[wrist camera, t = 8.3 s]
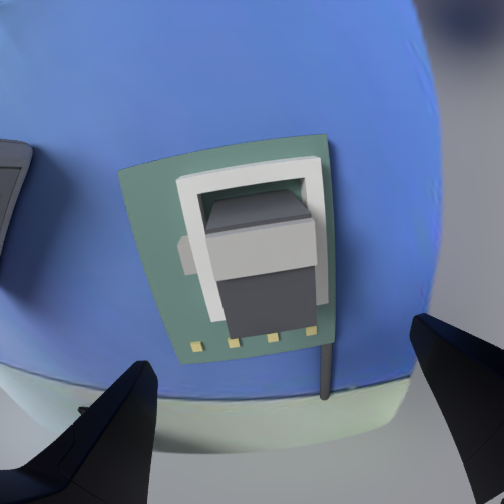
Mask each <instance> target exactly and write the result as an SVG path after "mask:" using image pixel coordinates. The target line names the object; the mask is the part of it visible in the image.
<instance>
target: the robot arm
mask: <svg viewBox="0 0 504 504" xmlns="http://www.w3.org/2000/svg"><path fill="white" fill-rule="evenodd" d="M410 341H411V343H412V346H413V348H414V351H415V353H416V356H417V358H418V361H419V363H420V366H421V369H422V371H423V373H424V376H425V378H426V380H427V382H428V384H429V386H430V388H431V390H432V392H433V394H434V396H435V398H436V401H437V403H438V405H439V407H440V409H441V411H442V414H443V416H444V418H445V420H446V422H447V425H448V427H449V429H450V432H451V434H452V436H453V439H454V441H455V444H456V446H457V449H458V451H459V454H460V456H461V459H462V462H463V464H464V468H465V470H466V473H467V476H468V479H469V482H470V485H471V488H472V491H473V494H474V498H475V501H476V504H484V503H486V502H488V501H489V500H491V499H493V498H494V497H496V496H497V495H499V494H501V493H502V492H504V350H503V349H501V348H499V347H497V346H495V345H493V344H491V343H489V342H486V341H484V340H482V339H480V338H478V337H476V336H473V335H471V334H469V333H467V332H465V331H462V330H461V329H459V328H456V327H454V326H452V325H450V324H448V323H445V322H443V321H441V320H439V319H437V318H435V317H432V316H430V315H428V314H426V313H422V314H418V315H415V316H414V318H413V321H412V325H411V330H410ZM157 389H158V380H157V376H156V374H155V373H154V371H153V369H152V367H151V365H150V363H149V362H148V361H146V360H144V361H136V362H134V363H133V364H132V365H131V366H130V367H129V368H128V369H127V370H126V371H125V372H124V373H123V374H122V375H121V376H120V377H119V378H118V379H117V380H116V381H115V382H114V383H113V384H112V385H111V386H110V387H109V388H108V389H107V390H106V391H105V392H104V393H103V394H102V395H101V396H100V397H99V398H98V399H97V400H96V401H95V402H94V403H93V404H92V405H91V406H90V407H89V408H83V407H79V408H78V411H79V413H80V414H81V416H80V417H79V418H78V419H77V420H76V421H75V422H74V423H73V425H71V426H70V427H69V428H68V429H67V430H66V431H65V432H64V433H62V434H61V435H60V436H59V437H58V438H57V439H56V440H55V441H54V442H53V443H51V444H50V445H49V446H48V447H47V448H46V449H44V450H43V451H42V452H40V453H39V454H38V455H37V456H36V457H34V458H33V459H32V460H30V461H29V462H28V463H27V464H25V465H24V466H22V467H20V468H17V469H11V470H0V504H147V495H148V483H149V473H150V464H151V457H152V449H153V441H154V434H155V427H156V416H157ZM501 504H504V498H503V499H502V501H501Z"/></svg>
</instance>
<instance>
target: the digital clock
mask: <svg viewBox="0 0 504 504" xmlns="http://www.w3.org/2000/svg"><path fill="white" fill-rule="evenodd" d="M32 154H33V149H32V147H31V146H30V145H29V144H27V143H25V142H23V141H17V140H7V139H0V256H1V251H2V247H3V243H4V239H5V236H6V232H7V229H8V225H9V222H10V219H11V215H12V212H13V209H14V206H15V203H16V200H17V198H18V195H19V192H20V189H21V187H22V184H23V181H24V179H25V176H26V174H27V171H28V168H29V165H30V162H31V158H32Z"/></svg>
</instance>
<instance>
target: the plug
mask: <svg viewBox="0 0 504 504" xmlns="http://www.w3.org/2000/svg"><path fill="white" fill-rule="evenodd" d="M205 231H206V236H205V241H206V245H207V250H208V254H209V259H210V263H211V267H212V272H213V276H214V280H215V281H217V285H218V289H219V293H220V297H221V301H222V305H223V309H224V313H225V317H226V321H227V325H228V329H229V333H230V337H231V339H238V338H245V337H252V336H259V335H266V334H272V333H278V332H284V331H290V330H296V329H301V328H307V327H312V326H317V304H316V278H315V265H317V248H316V232H315V221H314V220H313V219H312V216H311V212H310V211H309V210H308V209H307V208H306V207H305V206H304V205H303V204H302V203H301V202H300V201H299V199H298V198H297V197H296V196H295V195H294V194H293V193H292V192H291V191H290V190H289V189H283V190H276V191H269V192H262V193H256V194H249V195H243V196H237V197H231V198H225V199H219V200H214V203H213V206H212V210H211V213H210V216H209V219H208V222H207V226H206V229H205Z"/></svg>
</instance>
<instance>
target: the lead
mask: <svg viewBox="0 0 504 504" xmlns="http://www.w3.org/2000/svg"><path fill="white" fill-rule="evenodd" d="M331 365H332V343H329V344H324V345H321V378H320V398H321V399H322V400H327V399H328V398H329V395H330V381H331Z"/></svg>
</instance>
